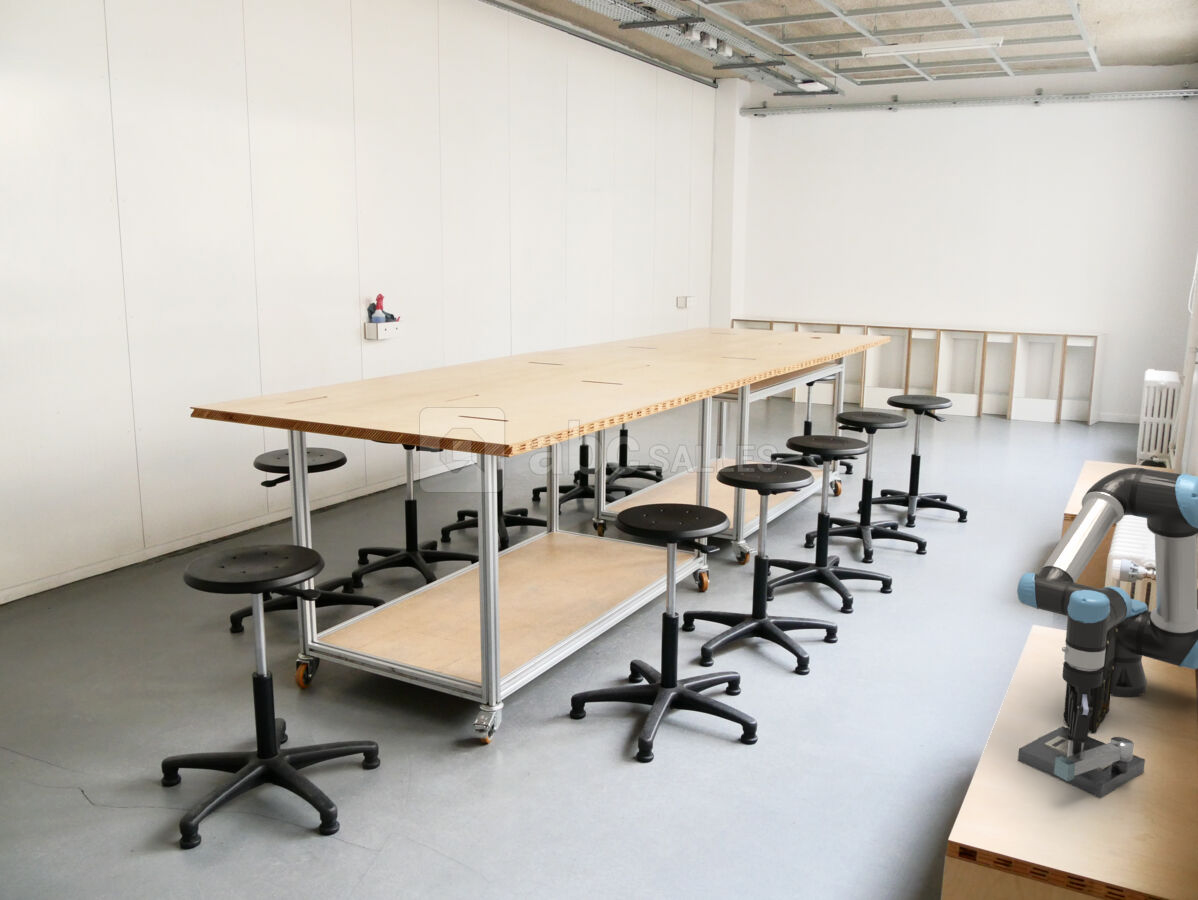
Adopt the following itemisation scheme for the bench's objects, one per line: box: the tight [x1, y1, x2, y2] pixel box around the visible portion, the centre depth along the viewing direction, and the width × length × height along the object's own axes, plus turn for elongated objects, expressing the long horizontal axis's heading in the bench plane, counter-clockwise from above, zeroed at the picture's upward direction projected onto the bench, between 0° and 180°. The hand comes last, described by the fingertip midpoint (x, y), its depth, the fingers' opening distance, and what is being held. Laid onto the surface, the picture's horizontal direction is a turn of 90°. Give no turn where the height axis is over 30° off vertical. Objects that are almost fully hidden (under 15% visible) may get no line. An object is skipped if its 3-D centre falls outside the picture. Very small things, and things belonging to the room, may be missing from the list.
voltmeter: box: [1062, 624, 1118, 734], centre depth 233 cm, size 16×9×25 cm, turn 141°
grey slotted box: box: [1017, 725, 1146, 799], centre depth 214 cm, size 18×20×6 cm
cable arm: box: [1054, 736, 1135, 781], centre depth 202 cm, size 4×21×4 cm, turn 115°
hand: (1073, 765), depth 205 cm, fingers closed
